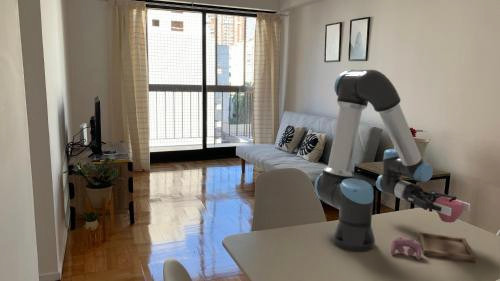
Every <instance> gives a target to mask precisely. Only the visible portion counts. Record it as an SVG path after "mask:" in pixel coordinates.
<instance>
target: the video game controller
mask: <svg viewBox="0 0 500 281" xmlns="http://www.w3.org/2000/svg"><path fill="white" fill-rule="evenodd" d="M390 245H391V246H390V255H391V256H394V255H395V253H396V250H397V252H398V254H400V255H401V254H404V253H405V248H404V247H407V248H408V249H407V251H406V253H407V255H408V256H413V255H414V254H415V255H416V260H417V261H420V260H421V257H422V248H421V244H420V242H418V241H417V240H415V239H412V238H408V237H395V238H394V239H393V240H392V241H391V244H390Z"/></svg>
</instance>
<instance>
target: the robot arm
mask: <svg viewBox="0 0 500 281" xmlns="http://www.w3.org/2000/svg"><path fill="white" fill-rule="evenodd" d="M334 82H335V83H334V87H333V88H334V89H333V90H334V92H335V95H336V96H337V100H336V103H337V105H338V106H339V108H338V109H339V110H338V115H337V120H336V125H335V129H334V135H333V139H332V144H331V150H330V154H329V159H328V162H327V163H328V165H327V166H326V167H324V168H322V173H320V174H319V175H318V176H317V177H316V179H315V181H314V192H315V194H316V196H317V198H318V199H320V200H321V201H322V202H324V203H325V204H326V205H330V206H332V207H334V208H335V209H337V210H339V213H338V222H337V225H336V228H335V229H334V233H333V235H332V242H333V244H334V245H335V246H337V247H338V248H341V249H342V250H345V251H350V252H356V253H360V252H361V253H363V252H369V251H372V250H373V249H374V248H375V245H376V244H375V242H376V240H375V235H374V234H375V233H374V231H373V227H372V221H373V220H372V218H373V207H374V199H375V196H374V188H373V186H372V184H370V183H369V182H367V181H365V180H362V179H358V178H353V173H352V172H351V166H352V161H353V156H354V151H355V147H356V146H355V145H356V141H357V137H358V131H359V127H360V122H361V118H362V112H363V111H364V110H366V108H367V107H368V105H369V104H370V105H371V106H372V107H373V109H374V111H375V112H377V113H378V114H379V115H380V118H381V120H382V122H383V125H384V127H385V129H386V130H387V134H388V136H389V138H390V139H391V142H392V144H393V147H394V148H389V149H386V150H384V152H383V158H382V160H383V162H382V174H379V176H378V177H377V180H376V181H375V186H376V188H377V189H378V190H379V191H381V192H382V193H384V194H387V195H390V196H393V197H395V198H398V199H401V200H402V201H406V202H409V203H411V204H414V205H415V206H417V207H419V208H420V209H422V210H425V211H428V212H433V211H434V212H436V213H437V212H440V213H443V214H445V215H448V216H451V209H452V208H449V207H446V206H444V205H441V204H438V203H435V200H436V199H437V198H439V197H447V198H454V197H456V200H458V201H460V202H461V203H462V204H463V211H466V212H470V211H471V204H470V203H469V202H465V201H462V200H459V199H457V196H455V195H451V194H450V195H448V194H445V193H441V192H437V191H434V190H431V191H430V192H429V191H426V190H423V188H422V186H421V185H419V184H415V183H413V182H412V183H411V182H409V181H406V180H403V179H401V178H402V177H405V178H408V179H410V180H414V181H417V182H422V183H425V182H428V181H430V179H431V178H432V176H433V174H434V168H433V166H432V165H431V164H430V163H428V162H424V160H423V157H422V155H421V152H420V150H419V149H418V145H417V143H416V141H415V138H414V136H413V134H412V132H411V129H410V127H409V125H408V124H409V123H408V122H407V119H406V117H405V115H404V112H403V109H402V108H401V105H400V104H401V101H402V100H401V97H400V94H399V93H398V91H397V89H396V87H395V85H394V84H393V83H392V81H391V80H390V79H389V77H387V76H386V75H385V74H384V73H383V72H381V71H378V70H376V69H348V70H345V71H343V72H342V73H340V74H339V75H338V76H337V78H336V79H335V81H334ZM368 103H369V104H368Z"/></svg>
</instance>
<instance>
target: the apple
mask: <svg viewBox="0 0 500 281" xmlns="http://www.w3.org/2000/svg"><path fill="white" fill-rule="evenodd" d="M456 197H457V196H455V197H454V198H447V197H439V198H437V199H436V200H435V202H434V203H438V204H441V205H444V206H446V207H449V208H452V209H451V216H448V215H445V214H443V213H440V212H437V211H436V213H437V214H438V216H439V218H440V220H441V221H442V222H445V223H450V224H451V223H455V222H456V221H457V220H458V219H459V217H461V215H462V214H463V212H464V210H463V204H462V203H461V202H460V201H461V200H459V199H456ZM458 200H459V201H458Z"/></svg>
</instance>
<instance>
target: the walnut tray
mask: <svg viewBox="0 0 500 281" xmlns="http://www.w3.org/2000/svg"><path fill="white" fill-rule="evenodd" d="M418 240H419V244H420V245H421V252H422V254H423V256H424V257H425V256H427V257H432V258H439V259H447V260H454V261H458V262H459V261H460V262H467V263H474V264H476V258H477V257H476V256H475V254H474V251H473V250H472V248H471V247H470V246H471V245H469V243H468V242H467V239H466V238H465V237H460V236H459V237H457V236H452V235H451V236H450V235H442V234H434V233H427V232H418Z"/></svg>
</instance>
